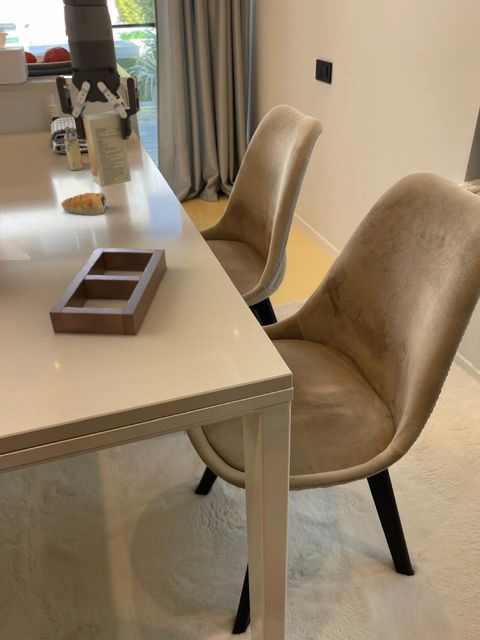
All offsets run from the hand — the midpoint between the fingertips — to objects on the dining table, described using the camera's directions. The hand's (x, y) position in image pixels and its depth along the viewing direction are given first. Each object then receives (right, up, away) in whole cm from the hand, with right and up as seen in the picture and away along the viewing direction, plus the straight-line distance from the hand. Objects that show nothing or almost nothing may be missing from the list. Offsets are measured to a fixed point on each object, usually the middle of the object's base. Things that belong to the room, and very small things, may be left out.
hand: (105, 138), depth 103 cm
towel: (-24, +22, +65) cm, 73 cm away
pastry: (-9, -9, +20) cm, 23 cm away
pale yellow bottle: (-21, +10, +48) cm, 53 cm away
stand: (+6, -32, -16) cm, 37 cm away
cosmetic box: (0, -7, +5) cm, 8 cm away
